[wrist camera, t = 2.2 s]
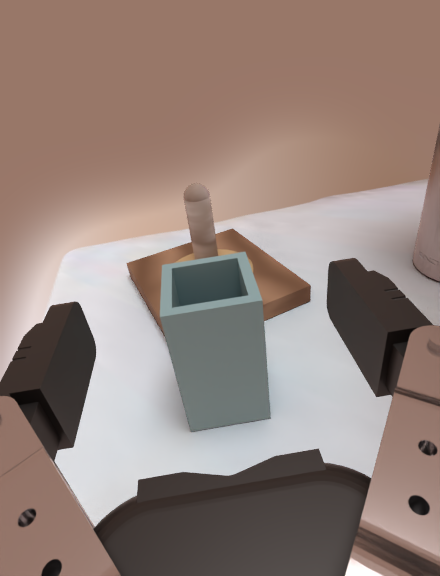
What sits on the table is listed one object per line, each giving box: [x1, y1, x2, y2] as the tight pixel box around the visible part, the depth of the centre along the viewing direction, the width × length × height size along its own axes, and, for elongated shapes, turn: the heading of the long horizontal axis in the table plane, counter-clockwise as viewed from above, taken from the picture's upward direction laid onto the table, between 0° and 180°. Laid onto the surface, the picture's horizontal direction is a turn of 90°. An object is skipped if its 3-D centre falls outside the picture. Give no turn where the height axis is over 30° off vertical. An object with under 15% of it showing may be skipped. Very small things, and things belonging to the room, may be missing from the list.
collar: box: [160, 252, 271, 432], centre depth 27 cm, size 6×6×11 cm
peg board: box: [127, 183, 311, 336], centre depth 39 cm, size 15×17×12 cm
